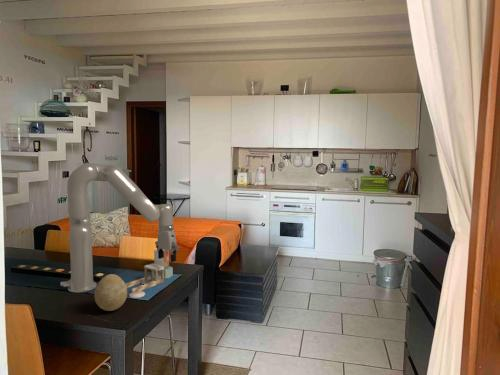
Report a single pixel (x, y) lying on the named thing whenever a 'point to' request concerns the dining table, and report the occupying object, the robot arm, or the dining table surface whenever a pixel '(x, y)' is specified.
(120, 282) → the fossilized egg
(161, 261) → the small box
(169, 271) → the block
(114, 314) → the dining table surface
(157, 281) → the tunnel
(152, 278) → the push bar
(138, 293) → the coaster
